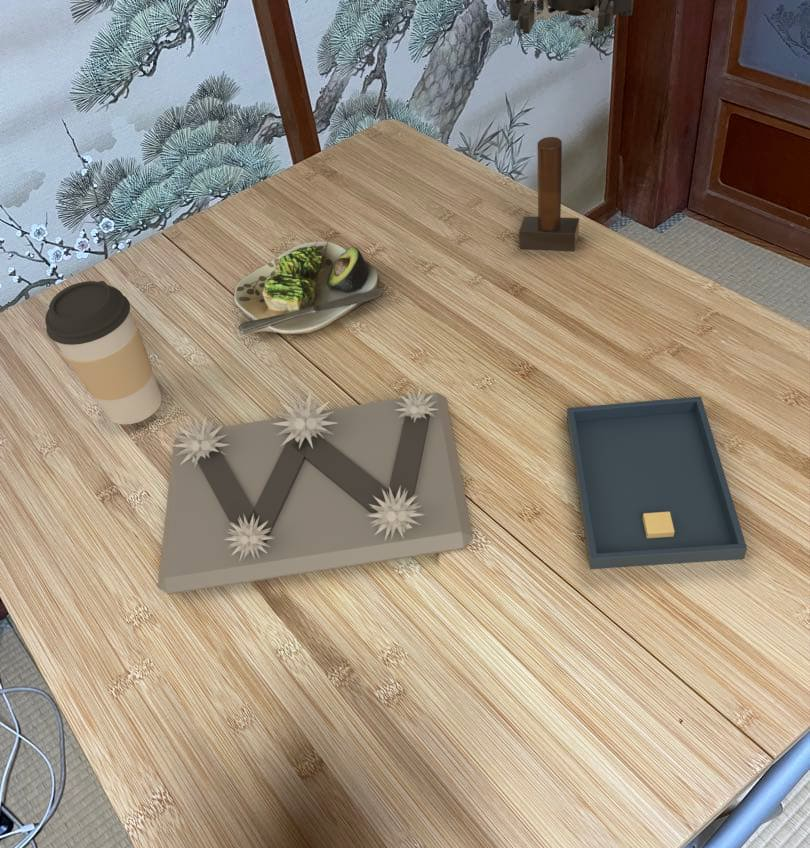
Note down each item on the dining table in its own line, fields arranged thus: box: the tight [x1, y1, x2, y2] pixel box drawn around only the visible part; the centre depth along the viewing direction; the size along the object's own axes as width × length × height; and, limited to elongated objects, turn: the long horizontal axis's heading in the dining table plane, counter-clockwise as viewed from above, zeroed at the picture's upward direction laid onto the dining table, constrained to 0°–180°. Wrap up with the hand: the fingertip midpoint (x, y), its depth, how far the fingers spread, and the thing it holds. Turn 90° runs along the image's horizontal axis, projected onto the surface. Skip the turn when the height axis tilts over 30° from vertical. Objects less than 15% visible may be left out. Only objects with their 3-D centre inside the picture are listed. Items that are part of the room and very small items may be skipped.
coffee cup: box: [44, 280, 163, 426], centre depth 92 cm, size 9×9×15 cm
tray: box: [566, 396, 748, 570], centre depth 79 cm, size 19×13×2 cm
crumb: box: [643, 512, 675, 538], centre depth 76 cm, size 2×2×1 cm
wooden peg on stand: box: [518, 136, 580, 252], centre depth 102 cm, size 4×7×13 cm, turn 74°
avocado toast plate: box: [233, 240, 386, 335], centre depth 104 cm, size 19×18×5 cm
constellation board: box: [157, 386, 474, 595], centre depth 82 cm, size 30×22×7 cm
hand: (563, 23), depth 94 cm, fingers open, 8 cm apart
